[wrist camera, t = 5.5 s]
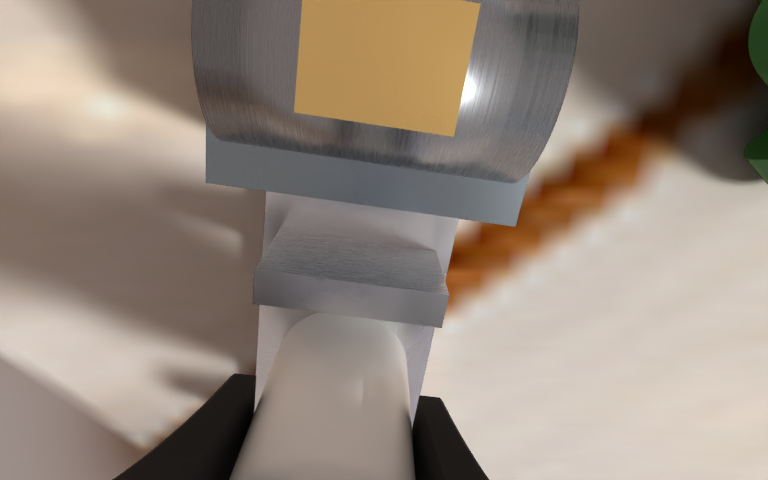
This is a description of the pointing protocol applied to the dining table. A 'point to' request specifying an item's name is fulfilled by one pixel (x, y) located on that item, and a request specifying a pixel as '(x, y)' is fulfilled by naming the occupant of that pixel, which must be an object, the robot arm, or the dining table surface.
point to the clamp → (764, 52)
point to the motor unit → (375, 143)
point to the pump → (332, 406)
